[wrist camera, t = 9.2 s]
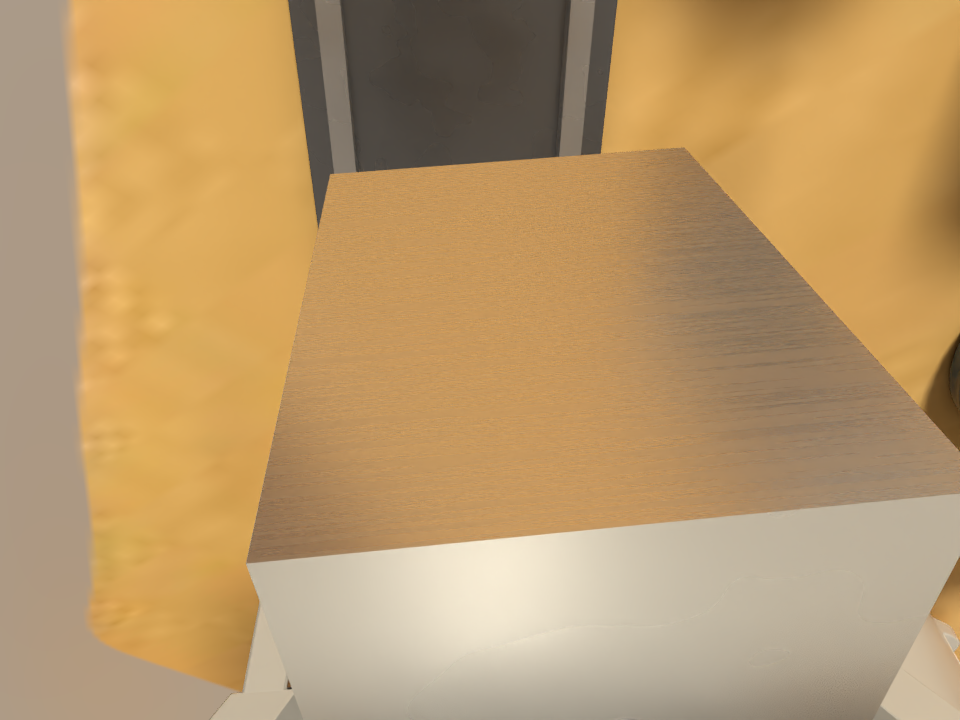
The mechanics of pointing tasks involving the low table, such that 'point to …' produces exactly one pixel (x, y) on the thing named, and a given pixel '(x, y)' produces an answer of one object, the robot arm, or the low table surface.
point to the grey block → (587, 461)
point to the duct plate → (449, 81)
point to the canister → (955, 378)
